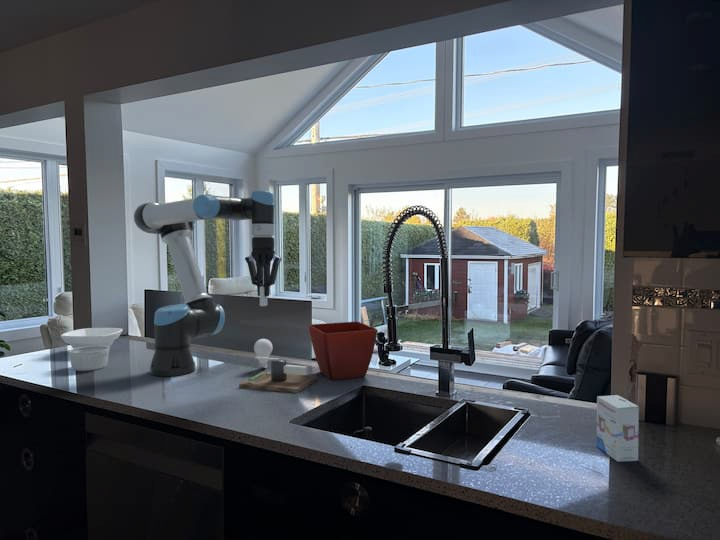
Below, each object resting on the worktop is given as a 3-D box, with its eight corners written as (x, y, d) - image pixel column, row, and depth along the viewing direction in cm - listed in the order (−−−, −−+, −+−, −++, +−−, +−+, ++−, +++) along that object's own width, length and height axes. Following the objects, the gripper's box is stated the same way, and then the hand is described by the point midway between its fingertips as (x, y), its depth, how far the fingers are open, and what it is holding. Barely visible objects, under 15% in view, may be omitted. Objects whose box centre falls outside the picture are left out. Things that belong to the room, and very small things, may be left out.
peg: (252, 378, 167) (251, 358, 167) (260, 374, 172) (259, 355, 171) (303, 383, 161) (303, 362, 161) (310, 379, 166) (310, 359, 165)
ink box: (594, 446, 115) (595, 394, 115) (615, 445, 116) (617, 394, 115) (616, 462, 107) (618, 406, 106) (639, 461, 107) (641, 406, 107)
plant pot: (324, 384, 166) (324, 332, 165) (308, 370, 184) (308, 324, 183) (378, 378, 173) (378, 329, 172) (357, 366, 191) (357, 321, 190)
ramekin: (60, 370, 184) (60, 350, 184) (92, 362, 196) (91, 344, 196) (87, 373, 179) (86, 354, 179) (117, 365, 191) (117, 347, 191)
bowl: (105, 357, 204) (104, 336, 204) (53, 357, 204) (53, 336, 204) (129, 347, 225) (128, 327, 224) (82, 346, 225) (82, 327, 225)
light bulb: (274, 366, 189) (274, 337, 188) (269, 371, 182) (269, 340, 182) (257, 366, 190) (257, 337, 189) (251, 370, 183) (251, 340, 183)
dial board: (238, 387, 162) (238, 383, 162) (263, 374, 178) (263, 370, 178) (296, 393, 156) (296, 388, 156) (317, 379, 172) (316, 374, 172)
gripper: (240, 236, 172) (241, 306, 173) (275, 236, 168) (276, 307, 169) (251, 236, 179) (252, 303, 180) (285, 236, 175) (285, 305, 176)
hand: (263, 305), depth 175 cm, fingers closed
